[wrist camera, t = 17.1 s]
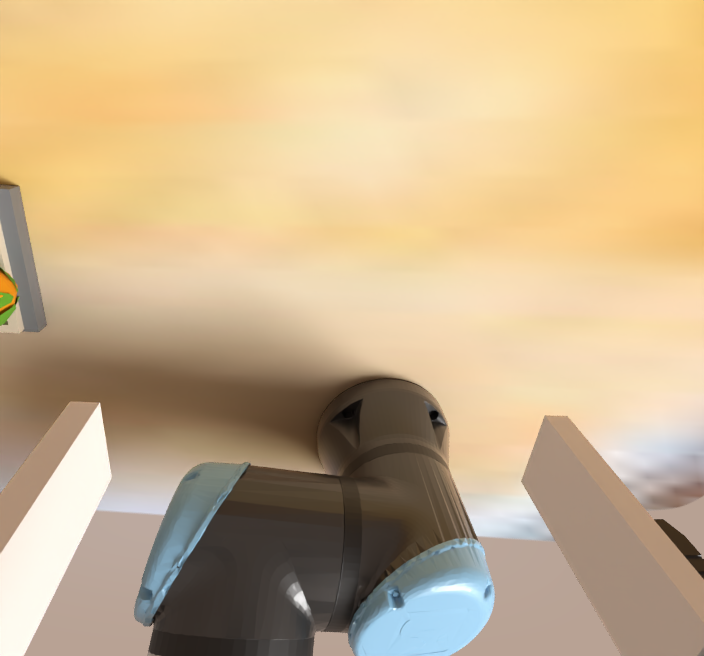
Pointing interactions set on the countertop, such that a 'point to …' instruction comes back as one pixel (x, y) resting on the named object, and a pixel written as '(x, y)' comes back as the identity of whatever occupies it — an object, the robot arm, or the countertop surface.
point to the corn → (7, 296)
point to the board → (19, 264)
